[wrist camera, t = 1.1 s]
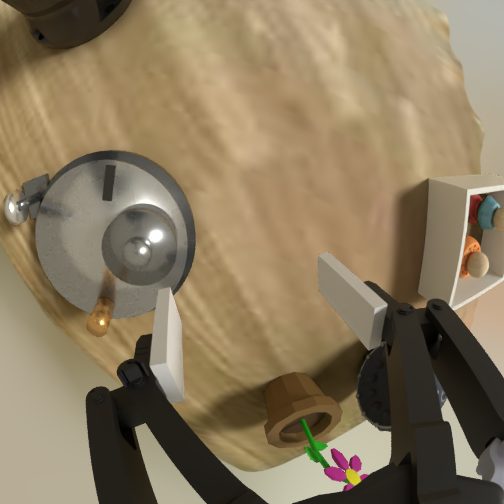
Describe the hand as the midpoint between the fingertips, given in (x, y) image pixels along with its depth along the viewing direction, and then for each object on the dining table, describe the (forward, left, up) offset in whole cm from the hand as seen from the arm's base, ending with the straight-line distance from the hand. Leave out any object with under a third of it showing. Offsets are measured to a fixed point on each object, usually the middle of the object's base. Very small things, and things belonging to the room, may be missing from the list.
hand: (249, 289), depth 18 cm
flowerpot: (+37, +7, -20) cm, 42 cm away
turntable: (0, -14, -17) cm, 22 cm away
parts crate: (+11, +48, -19) cm, 53 cm away
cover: (0, -9, -16) cm, 18 cm away
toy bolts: (+12, +49, -20) cm, 54 cm away
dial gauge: (-8, -23, -19) cm, 31 cm away
